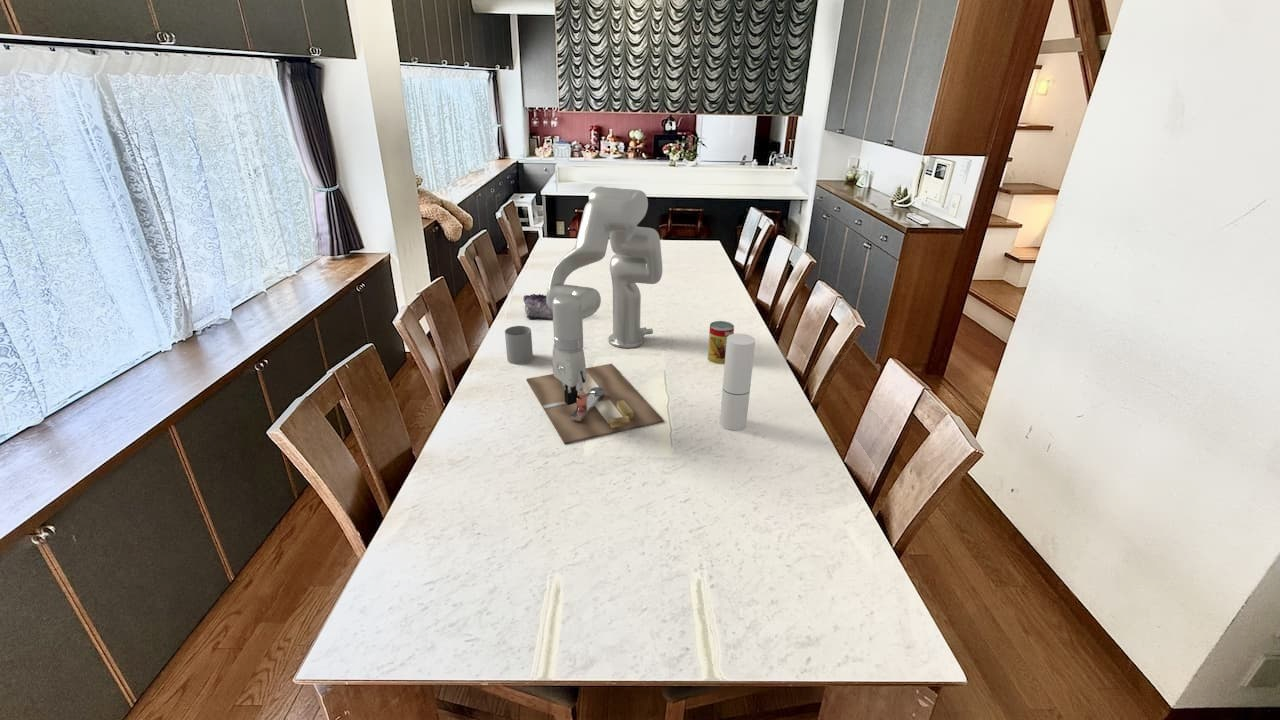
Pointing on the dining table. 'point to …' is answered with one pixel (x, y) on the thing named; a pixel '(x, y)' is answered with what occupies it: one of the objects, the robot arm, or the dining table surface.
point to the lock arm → (587, 403)
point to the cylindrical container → (737, 381)
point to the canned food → (719, 340)
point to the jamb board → (606, 416)
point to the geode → (537, 307)
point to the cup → (519, 344)
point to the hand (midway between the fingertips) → (571, 402)
